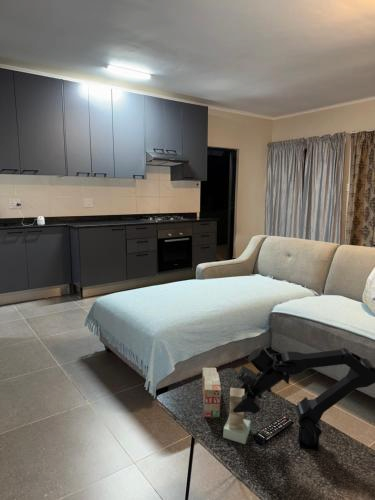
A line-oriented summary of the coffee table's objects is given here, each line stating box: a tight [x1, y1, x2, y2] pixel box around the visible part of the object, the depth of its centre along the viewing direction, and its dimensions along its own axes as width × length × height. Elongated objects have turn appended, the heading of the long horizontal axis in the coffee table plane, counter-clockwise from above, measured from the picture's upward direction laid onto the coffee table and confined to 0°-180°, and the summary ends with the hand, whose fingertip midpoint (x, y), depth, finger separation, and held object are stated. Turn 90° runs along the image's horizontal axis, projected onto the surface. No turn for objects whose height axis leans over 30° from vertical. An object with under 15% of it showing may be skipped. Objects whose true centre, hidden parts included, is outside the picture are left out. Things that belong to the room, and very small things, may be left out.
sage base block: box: [222, 416, 251, 445], centre depth 126 cm, size 8×8×4 cm
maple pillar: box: [228, 387, 245, 430], centre depth 124 cm, size 5×5×13 cm
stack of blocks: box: [201, 367, 222, 418], centre depth 144 cm, size 21×6×12 cm, turn 0°
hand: (234, 403), depth 124 cm, fingers open, 9 cm apart
